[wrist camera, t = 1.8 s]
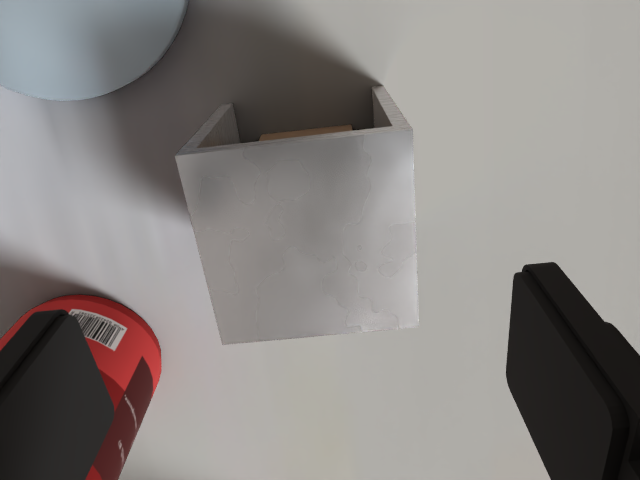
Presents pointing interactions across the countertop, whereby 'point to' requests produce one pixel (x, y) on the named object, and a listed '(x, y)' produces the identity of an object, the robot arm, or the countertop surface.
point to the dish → (83, 44)
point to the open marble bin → (305, 227)
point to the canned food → (113, 369)
